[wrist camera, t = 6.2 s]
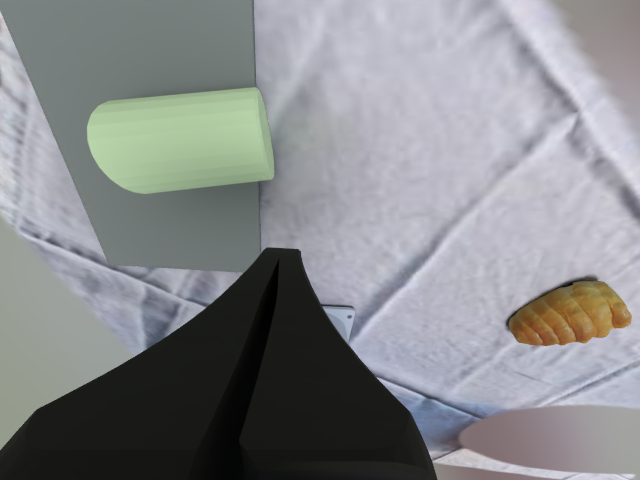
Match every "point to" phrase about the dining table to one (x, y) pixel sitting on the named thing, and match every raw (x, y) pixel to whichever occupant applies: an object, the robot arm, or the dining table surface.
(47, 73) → the mat
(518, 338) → the pastry
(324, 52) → the dining table surface
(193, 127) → the candle
